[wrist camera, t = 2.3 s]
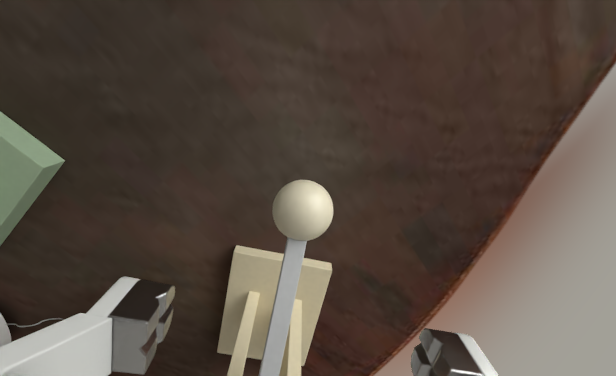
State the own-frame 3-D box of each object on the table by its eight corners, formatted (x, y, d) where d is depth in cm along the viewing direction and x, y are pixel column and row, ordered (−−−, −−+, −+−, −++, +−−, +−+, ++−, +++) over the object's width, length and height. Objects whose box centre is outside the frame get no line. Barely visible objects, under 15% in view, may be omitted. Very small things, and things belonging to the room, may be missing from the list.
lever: (279, 175, 19) (279, 172, 16) (333, 186, 20) (344, 186, 16) (221, 454, 19) (206, 516, 15) (276, 461, 19) (275, 524, 16)
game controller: (-49, 303, 29) (-82, 323, 27) (54, 269, 28) (30, 287, 26) (-10, 345, 31) (-38, 368, 28) (87, 315, 30) (68, 335, 27)
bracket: (236, 244, 27) (165, 414, 13) (331, 262, 28) (358, 441, 14) (219, 343, 31) (151, 554, 17) (303, 356, 32) (303, 569, 18)
